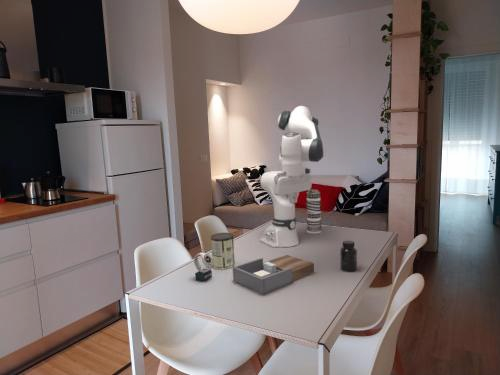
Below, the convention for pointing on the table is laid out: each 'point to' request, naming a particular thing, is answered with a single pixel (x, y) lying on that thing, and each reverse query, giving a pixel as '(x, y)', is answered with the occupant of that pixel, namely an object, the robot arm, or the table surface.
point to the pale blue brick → (269, 267)
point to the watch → (203, 273)
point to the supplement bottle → (348, 257)
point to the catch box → (256, 283)
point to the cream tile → (262, 273)
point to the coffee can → (222, 250)
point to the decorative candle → (313, 211)
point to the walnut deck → (294, 266)
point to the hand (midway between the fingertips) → (293, 203)
